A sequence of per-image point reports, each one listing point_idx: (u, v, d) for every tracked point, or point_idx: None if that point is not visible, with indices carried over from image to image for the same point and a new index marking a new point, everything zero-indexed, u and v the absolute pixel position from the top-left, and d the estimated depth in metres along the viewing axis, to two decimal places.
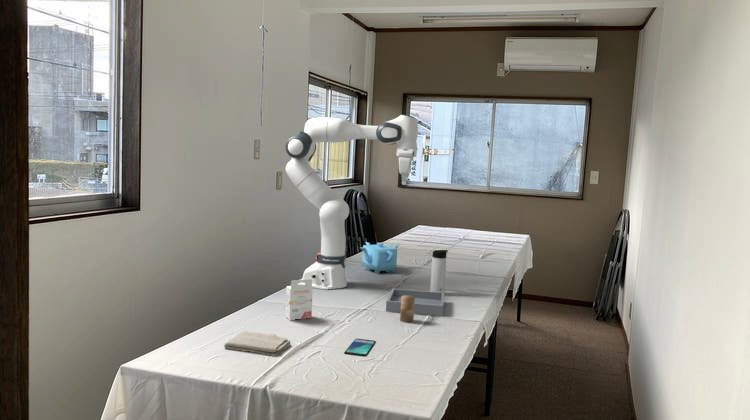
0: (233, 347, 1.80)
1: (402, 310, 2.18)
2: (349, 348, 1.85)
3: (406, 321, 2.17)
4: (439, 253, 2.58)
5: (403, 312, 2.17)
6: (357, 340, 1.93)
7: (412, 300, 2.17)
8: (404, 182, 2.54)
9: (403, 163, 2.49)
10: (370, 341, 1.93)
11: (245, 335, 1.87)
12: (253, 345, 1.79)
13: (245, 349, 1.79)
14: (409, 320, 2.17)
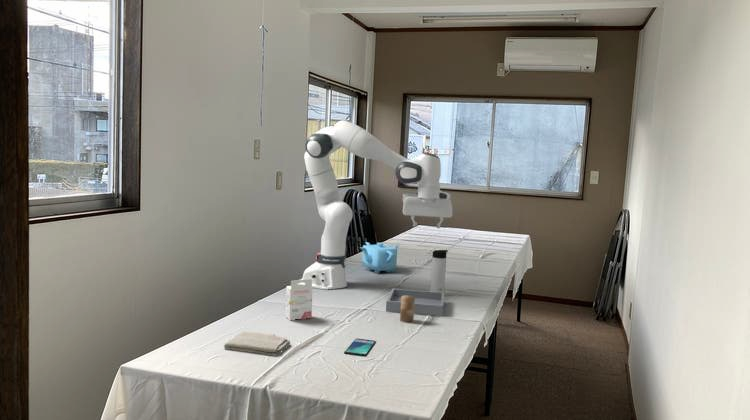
0: (233, 347, 1.79)
1: (402, 310, 2.18)
2: (349, 348, 1.85)
3: (406, 321, 2.17)
4: (439, 253, 2.58)
5: (403, 312, 2.17)
6: (357, 340, 1.93)
7: (412, 300, 2.17)
8: None
9: None
10: (370, 341, 1.93)
11: (244, 335, 1.87)
12: (253, 345, 1.78)
13: (245, 349, 1.79)
14: (409, 320, 2.17)
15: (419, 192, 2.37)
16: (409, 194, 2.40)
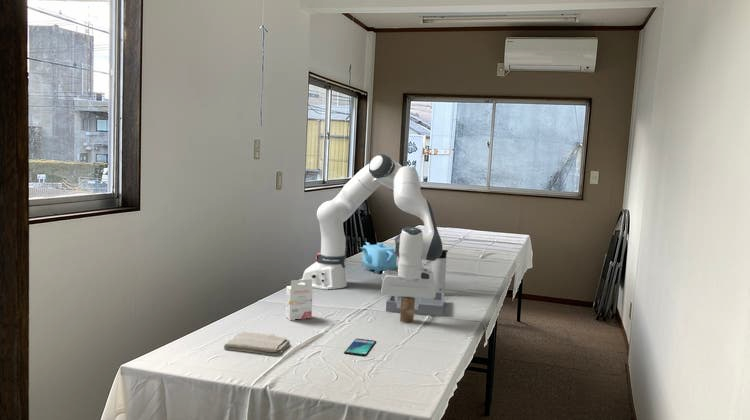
0: (233, 348, 1.79)
1: (402, 310, 2.18)
2: (349, 348, 1.85)
3: (406, 321, 2.17)
4: None
5: (403, 312, 2.17)
6: (357, 340, 1.93)
7: (412, 300, 2.17)
8: None
9: (435, 286, 2.17)
10: (370, 341, 1.93)
11: (244, 336, 1.86)
12: (253, 345, 1.78)
13: (245, 349, 1.78)
14: (409, 320, 2.17)
15: (399, 271, 2.16)
16: (388, 272, 2.18)
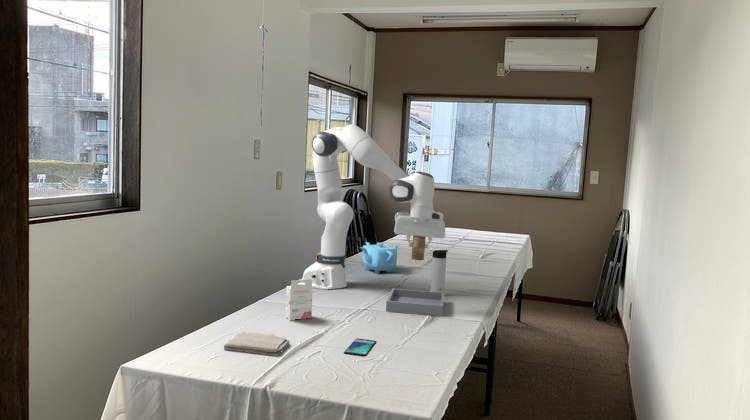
0: (233, 348, 1.79)
1: (413, 248, 2.34)
2: (349, 348, 1.85)
3: (417, 258, 2.33)
4: (439, 253, 2.58)
5: (414, 250, 2.33)
6: (357, 340, 1.93)
7: (423, 239, 2.33)
8: (428, 245, 2.35)
9: None
10: (370, 341, 1.93)
11: (243, 336, 1.86)
12: (253, 345, 1.78)
13: (245, 350, 1.78)
14: (420, 258, 2.33)
15: (411, 211, 2.32)
16: (401, 213, 2.35)
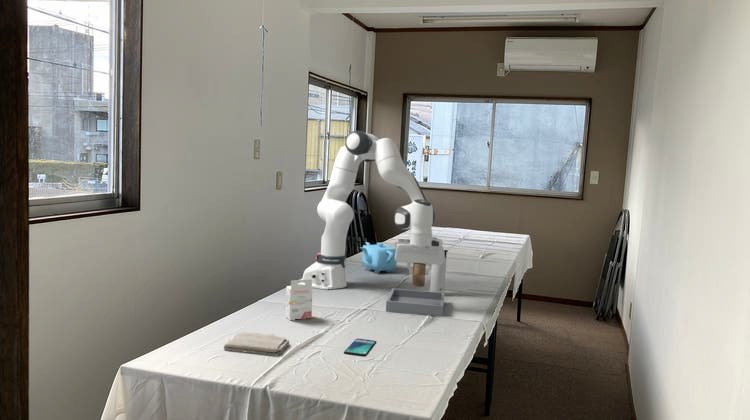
0: (233, 348, 1.79)
1: (414, 275, 2.38)
2: (349, 348, 1.85)
3: (418, 285, 2.37)
4: None
5: (415, 277, 2.37)
6: (357, 340, 1.93)
7: (423, 266, 2.37)
8: (428, 272, 2.39)
9: (444, 253, 2.37)
10: (370, 341, 1.93)
11: (243, 336, 1.86)
12: (253, 345, 1.78)
13: (245, 350, 1.78)
14: (421, 284, 2.38)
15: (411, 239, 2.36)
16: (401, 241, 2.38)
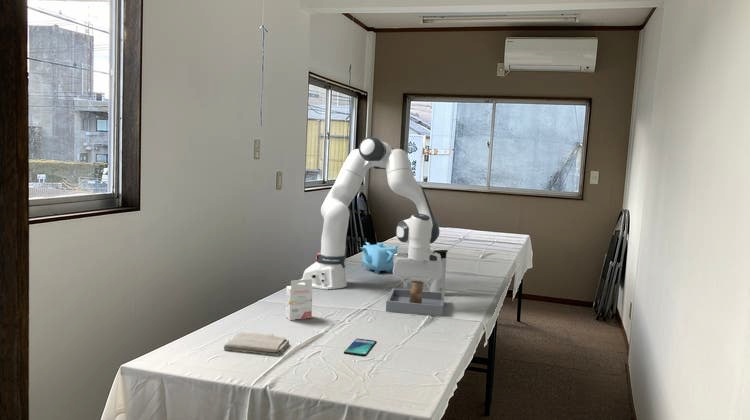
0: (233, 348, 1.79)
1: (412, 294, 2.38)
2: (349, 348, 1.85)
3: None
4: (439, 253, 2.58)
5: (413, 296, 2.38)
6: (358, 340, 1.93)
7: (421, 285, 2.37)
8: (430, 286, 2.39)
9: (442, 267, 2.37)
10: (370, 341, 1.93)
11: (243, 336, 1.86)
12: (253, 345, 1.78)
13: (246, 350, 1.78)
14: None
15: (409, 253, 2.36)
16: (399, 255, 2.39)
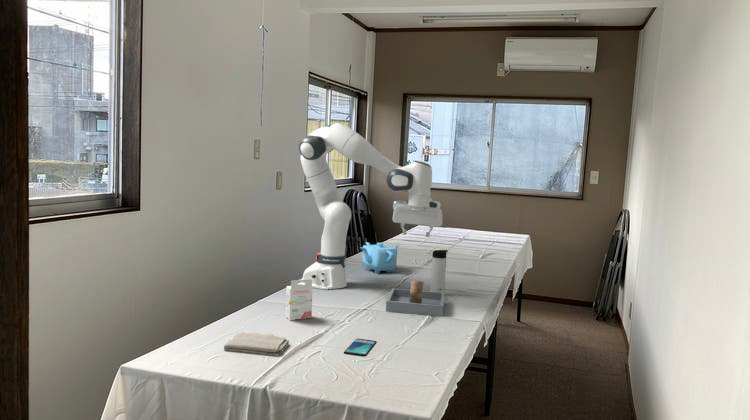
0: (233, 349, 1.78)
1: (412, 294, 2.38)
2: (349, 348, 1.85)
3: None
4: (439, 253, 2.58)
5: (413, 295, 2.38)
6: (358, 340, 1.93)
7: (421, 285, 2.38)
8: (429, 234, 2.40)
9: None
10: (370, 341, 1.93)
11: (243, 336, 1.86)
12: (254, 345, 1.78)
13: (246, 350, 1.78)
14: None
15: (409, 200, 2.37)
16: (400, 202, 2.40)
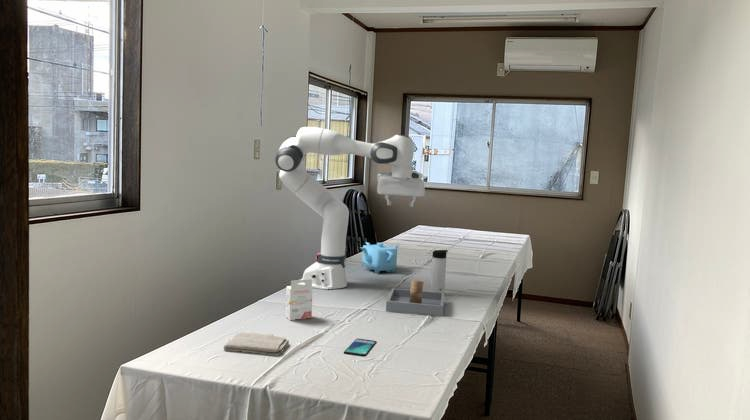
0: (233, 349, 1.78)
1: (412, 294, 2.38)
2: (349, 348, 1.85)
3: None
4: (439, 253, 2.58)
5: (413, 295, 2.38)
6: (358, 340, 1.93)
7: (421, 284, 2.38)
8: None
9: None
10: (370, 341, 1.93)
11: (242, 336, 1.86)
12: (254, 345, 1.78)
13: (246, 350, 1.78)
14: None
15: (392, 172, 2.48)
16: (383, 174, 2.50)
